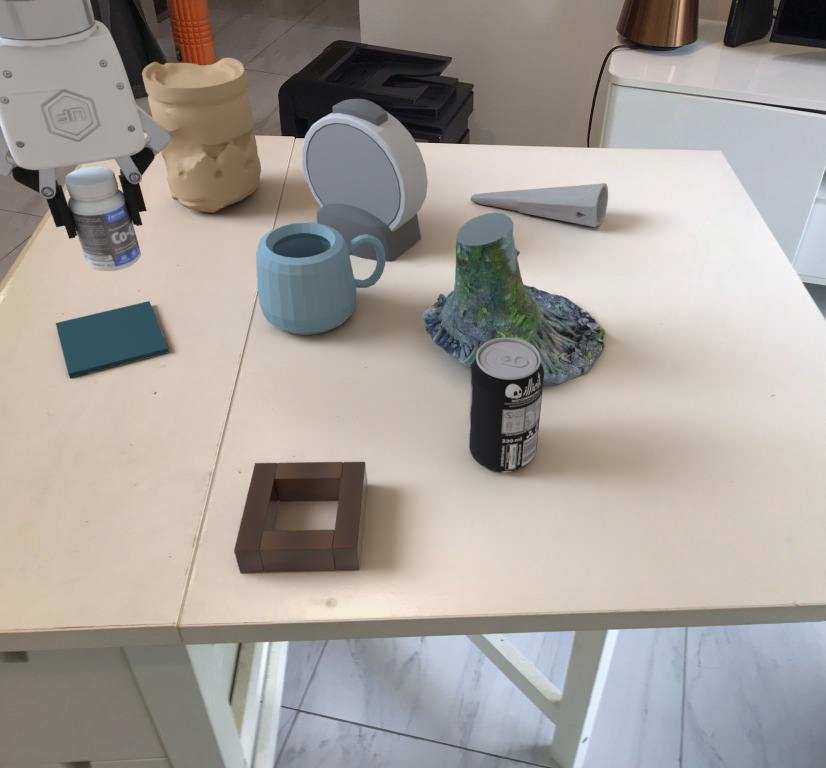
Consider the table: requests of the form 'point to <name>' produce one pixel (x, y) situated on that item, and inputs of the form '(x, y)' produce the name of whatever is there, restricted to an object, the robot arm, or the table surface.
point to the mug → (310, 277)
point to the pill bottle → (102, 219)
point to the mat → (110, 339)
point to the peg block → (302, 547)
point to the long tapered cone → (554, 202)
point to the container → (205, 131)
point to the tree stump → (509, 306)
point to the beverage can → (505, 404)
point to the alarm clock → (366, 176)
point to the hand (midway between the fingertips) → (103, 223)
